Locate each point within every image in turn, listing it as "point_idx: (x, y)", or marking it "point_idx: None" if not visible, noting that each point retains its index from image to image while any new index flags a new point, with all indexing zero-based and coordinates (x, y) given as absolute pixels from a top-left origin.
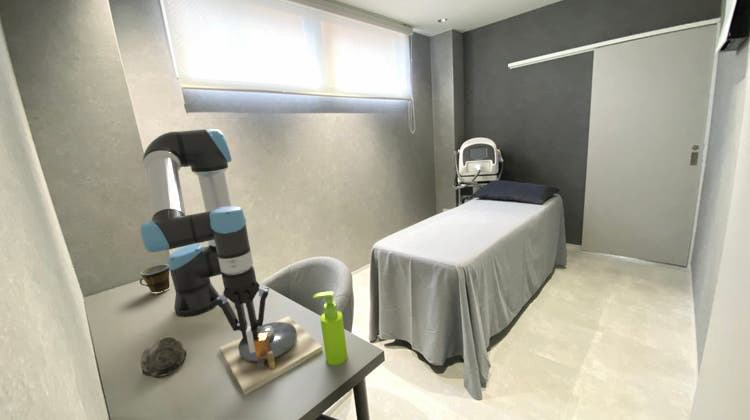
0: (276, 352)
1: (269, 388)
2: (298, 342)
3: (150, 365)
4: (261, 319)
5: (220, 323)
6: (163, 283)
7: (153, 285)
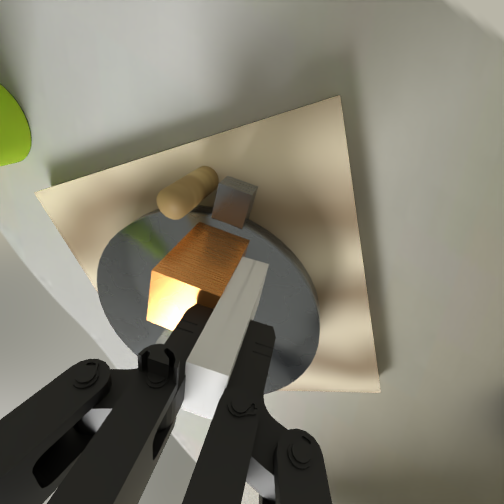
0: (164, 222)
1: (234, 81)
2: None
3: None
4: (26, 416)
5: (352, 470)
6: None
7: None
